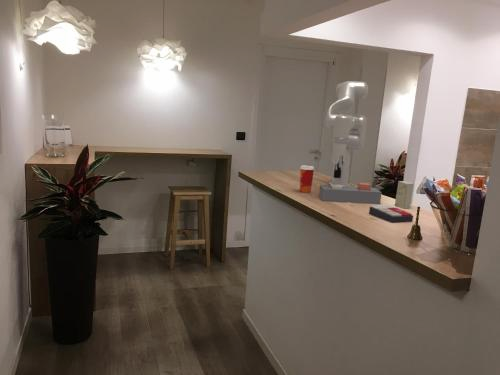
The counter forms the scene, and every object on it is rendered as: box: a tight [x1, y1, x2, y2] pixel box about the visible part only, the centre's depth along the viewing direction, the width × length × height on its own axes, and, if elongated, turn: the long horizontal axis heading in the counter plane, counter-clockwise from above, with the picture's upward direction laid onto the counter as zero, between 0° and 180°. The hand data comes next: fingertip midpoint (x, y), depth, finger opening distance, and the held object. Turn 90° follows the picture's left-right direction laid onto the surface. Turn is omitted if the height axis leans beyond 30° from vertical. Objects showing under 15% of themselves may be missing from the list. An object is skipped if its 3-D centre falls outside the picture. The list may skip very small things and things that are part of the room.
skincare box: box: [394, 180, 415, 209], centre depth 199 cm, size 6×4×12 cm
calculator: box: [368, 204, 414, 224], centre depth 177 cm, size 11×4×15 cm
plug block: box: [318, 184, 382, 205], centre depth 209 cm, size 12×28×6 cm, turn 90°
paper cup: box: [299, 164, 315, 194], centre depth 222 cm, size 8×8×14 cm
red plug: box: [357, 182, 372, 191], centre depth 208 cm, size 5×5×7 cm
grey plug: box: [330, 184, 342, 189], centre depth 208 cm, size 5×5×7 cm
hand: (337, 177), depth 208 cm, fingers closed
